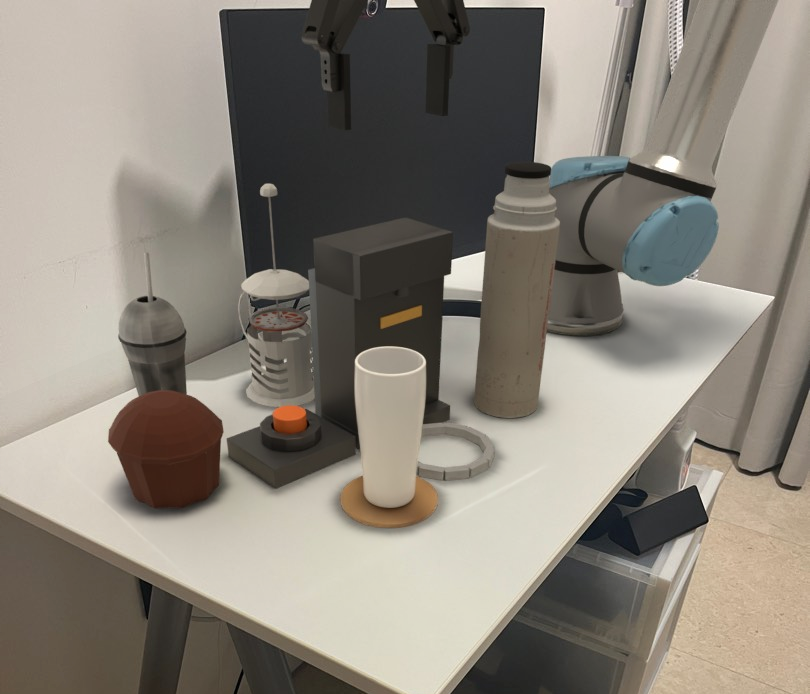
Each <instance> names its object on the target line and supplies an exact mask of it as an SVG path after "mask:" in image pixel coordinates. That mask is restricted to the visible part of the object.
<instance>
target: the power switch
mask: <svg viewBox="0 0 810 694" xmlns="http://www.w3.org/2000/svg"><path fill="white" fill-rule="evenodd" d="M304 409H305V411H306V417H307V428H306V429H305V430H304V431H302V432H299V433H294V434H284V433H279V432H277V431H275V429H274V423H273V413H272V414H270V415H267V416H265V417H264V419H262V421H260V423H259V426H256V427H253V428H251V429H248V430H246V431H243V432H240V433H238V434H234V435H231V436H229V437H226V445H227V446H226V447H227V453H228V458H230V459H232V460H233V461H234V462H236V463H237V464H239V465H240V466H242V467H243V468H244V469H246V470H247V471H249V472H250V473H252V474H254V476H256V477H258V478H259V479H260V480H262V481H264V482H265V483H266V484H268V485H270V486H271V487H272V488H273V489H279V488H281V487H284V486H286V485H288V484H291V483H294V482H295V481H297V480H299V479H302V478H305V477H307V476H309V475H312V474H314V473H316V472H318V471H321V470H324V469H325V468H328V467H330V466H332V465H334V464H337V463H339V462H341V461H344V460H346V459H349V458H350V457H351V458H352V457H354V456H355V455H357V454H356V453H357V451H356V449H357V448H356V444H355V436H353V435H352V434H350V433H348V432H346V431H345V430H343V429H341V428H339V427H338V426H336V425H334V424H332V423H331V422H329V421H327V420H325V419H323V418H322V417H320V416H318V415H316V414H315V412H313V411H311V410H310V409H308V408H304Z"/></svg>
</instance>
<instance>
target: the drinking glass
mask: <svg viewBox="0 0 810 694" xmlns="http://www.w3.org/2000/svg"><path fill="white" fill-rule="evenodd" d="M354 393H355V408H356V417H357V426H358V435H359V444H360V449H359V451H360V452H359V453H360V461H361V470H362V471H361V472H362V476H363V492H364V496H365V498H366V499H367V500H368V501H369V502H370V503H372V504H373V505H376V506H379V507H383V508H396V507H401V506H403V505H406V504H407V503H409V502H410V501H411V500H412V499H413V497H414V495H415V489H416V476H417V475H416V473H417V465H418V461H419V455H420V449H421V448H420V447H421V439H422V437H421V433H422V425H423V418H424V410H425V399H426V360H425V358H424V357H423V356H422V355H421V354H420V353H418V352H416V351H414V350H411V349H408V348H403V347H393V346H386V347H376V348H372V349H368V350H366V351H363V352H362V353H360V354H359V355H358V356H357V357H356V359H355V371H354Z"/></svg>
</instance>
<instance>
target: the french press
mask: <svg viewBox="0 0 810 694" xmlns="http://www.w3.org/2000/svg"><path fill="white" fill-rule="evenodd" d="M259 194H260V196H262V197H265V198H267V199H268V212H269V221H270V222H269V224H270V237H271V250H272V251H271V252H272V263H273V265H272V267H273V269H272V268H271V269H270V268H268V269H266V270H262V271H258V272H255V273H253V274H252V275H251V276H249V277H247V278H246V279H245V280H244V281H243V282H242V283H241V285H240V286H241V290H242V291H243V292H242V293H241V294H240V296H239V299H238V303H237V305H238V306H237V310H238V319H239V323H240V326H241V329H242V333H243V335H244V336H245V338H246V340H247V342H248V350H249V351H248V352H249V362H250V372H251V383H250V384H249V385H248V387H247V388H246V389H245V393H246V396H247V398H248V399H249V400H251V401H252V402H253V403H256V404H259V405H263V406H265V407H275V408H279V407H282V406H289V405H293V406H300V405H304V404H306V403H310V402H312V401H313V400H315V394H314V374H313V354H312V335H311V324H308V323H307V321H308V320H309V317H308V315H307V313H306V312H304V311H303V310H300V309H298V308H297V309H296V308H292V307H291V306H290V307H284V306H282V307H281V306H279V300H280V301H281V300H288V299H289V300H290V299H294V298H298V297H300V296H302V295H304V294H305V295H306V294H307V292H309V279H307V278H306V277H304V276H302V275H301V274H300V273H298V272H294V271H291V270H287V269H277V266H276V254H275V241H274V228H273V215H272V201H271V197H275V196H278V189H277V187H276V186H275V184H273V183H264V184H263V185H262V186H261V187H260V190H259ZM245 294H247V295H249V298H248V313H249V317H248V322H249V324H250V326H249V327H247V332H246V329H245V327H244V325H243V320H242V314H241V303H242V299H243V297H244V295H245ZM250 298H251V303H250ZM262 299H263V300H269V301H270V300H271V301H275V305H276V307H275V306H274V307H273V306H271V307H267V308H261V309H259V310H256V311H254V312H252V302H257V301H259V300H262ZM297 329H299V330H301V331H303V332H304V333H305V335H304V334H302V333H301V332H298V331H293V330H297ZM258 330H260V331H261V330H262V336H261V335H260V333H259V331H258ZM288 331H293V332H288ZM283 332H286V333H283ZM291 338H293V339H292V340H287V339H291ZM294 338H297V339H294ZM284 340H285V341H284ZM261 354H262V355H263V356H264V359H263V358H262V357H261ZM285 359H286V361H285ZM262 365H264V366H265V368H263V367H262Z"/></svg>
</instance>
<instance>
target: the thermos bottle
mask: <svg viewBox="0 0 810 694" xmlns="http://www.w3.org/2000/svg"><path fill="white" fill-rule="evenodd" d="M551 169H552V166H551V165H549V164H545V163H542V162H535V161H513V162H509V163H506V164H505V166H504V174H505V175H506V177H505V178H504V185H503V186H504V187H503V191H502V192H500V193H498V194H497V195H495V200H494V205H493V206H492V209H493V210H494V211H493V212H494V213H492V214H491V215H489V216H488V217H487V222H486V233H485V237H486V238H485V247H484V248H485V250H484V263H483V275H482V289H481V290H482V291H481V304H480V317H479V318H480V319H479V341H478V347H477V349H478V351H477V359H476V370H475V372H476V373H475V385H474V398H473V399H474V400H473V402H474V406H475V407H476V408H477V410H478V411H480V412H482V413H484V414H486V415H488V416H492V417H496V418H503V419H517V418H523V417H527V416H529V415H531V414H533V413H534V412H535V411H536V410H537V409H538V406H539V399H540V390H541V381H542V375H543V374H542V373H543V366H544V357H545V349H546V341H547V333H548V331H547V323H548V316H549V309H550V301H551V293H552V285H553V277H554V269H555V260H556V252H557V244H558V236H559V228H560V221H559V220H558V219H557V218H555V217H554V215H555V211H556V210H557V208H556V199H555V198H554V197H553V196H552V195H550V194H549V189H550V180H549V178H550V175H551Z"/></svg>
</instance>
